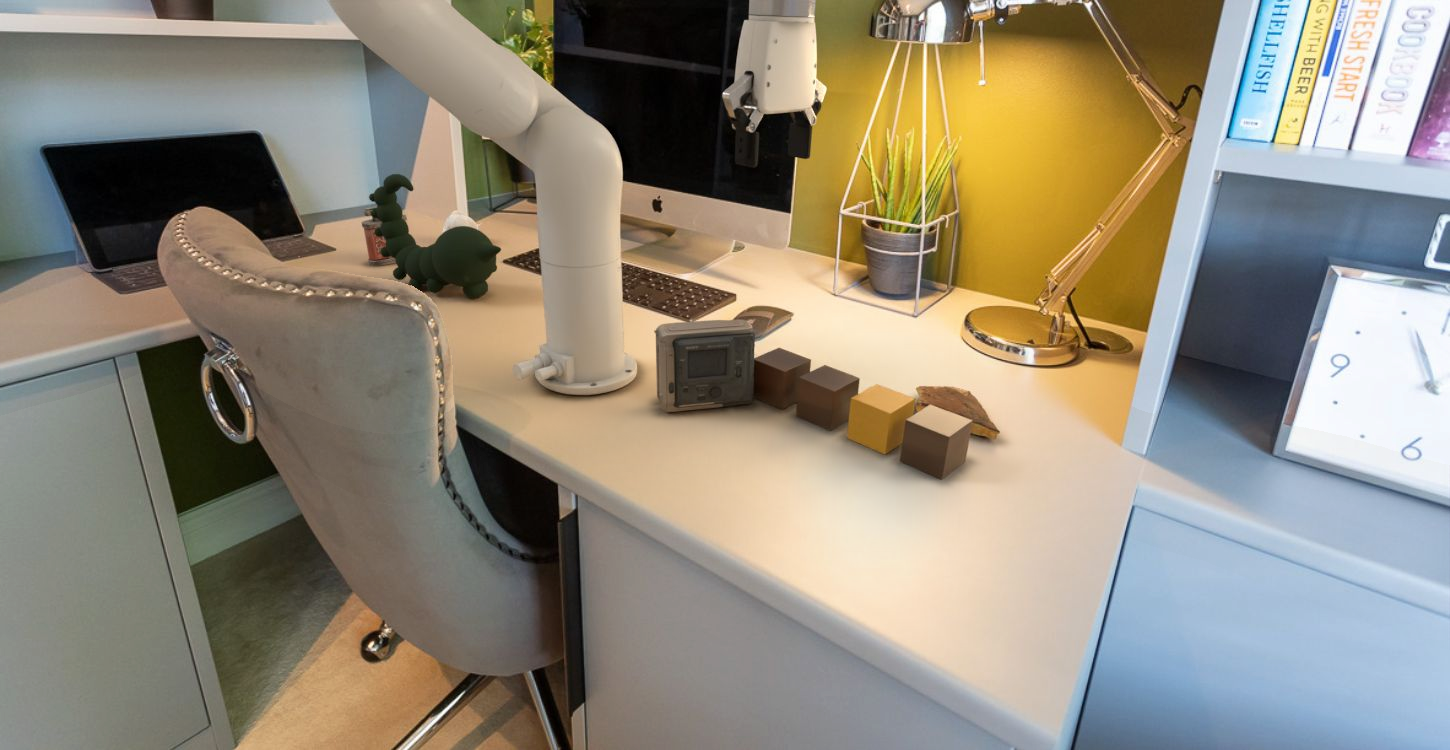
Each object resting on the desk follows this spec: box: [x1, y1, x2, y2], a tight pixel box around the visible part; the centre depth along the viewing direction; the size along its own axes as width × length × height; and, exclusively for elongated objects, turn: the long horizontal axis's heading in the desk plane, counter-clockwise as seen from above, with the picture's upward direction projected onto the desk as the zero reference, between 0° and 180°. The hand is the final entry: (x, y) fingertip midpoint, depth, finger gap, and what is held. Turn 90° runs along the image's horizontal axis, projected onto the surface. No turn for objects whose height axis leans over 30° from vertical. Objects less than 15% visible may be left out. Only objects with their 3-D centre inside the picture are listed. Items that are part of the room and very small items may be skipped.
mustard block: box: [846, 383, 916, 455], centre depth 86 cm, size 5×5×5 cm
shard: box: [915, 385, 1001, 440], centre depth 91 cm, size 11×8×2 cm
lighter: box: [361, 205, 408, 267], centre depth 138 cm, size 8×3×10 cm, turn 144°
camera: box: [653, 319, 756, 413], centre depth 91 cm, size 11×6×10 cm, turn 102°
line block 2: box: [795, 364, 861, 431], centre depth 90 cm, size 5×5×5 cm
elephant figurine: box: [441, 209, 484, 234], centre depth 150 cm, size 7×8×6 cm
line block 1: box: [753, 347, 812, 411], centre depth 94 cm, size 5×5×5 cm
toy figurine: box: [368, 173, 502, 300], centre depth 123 cm, size 9×19×25 cm
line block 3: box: [899, 405, 973, 480], centre depth 82 cm, size 5×5×5 cm
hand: (773, 161), depth 96 cm, fingers open, 9 cm apart
